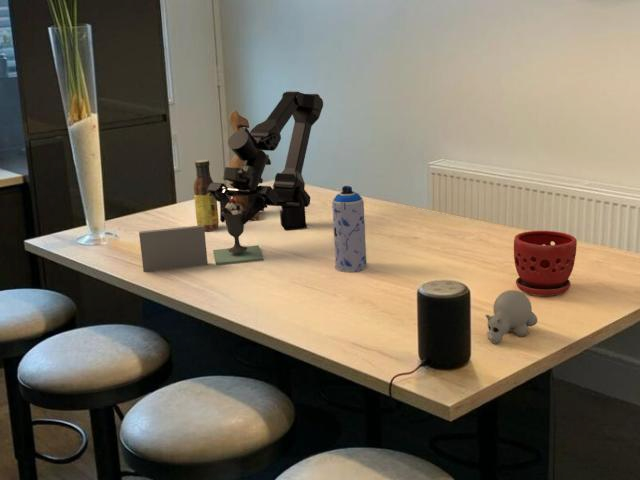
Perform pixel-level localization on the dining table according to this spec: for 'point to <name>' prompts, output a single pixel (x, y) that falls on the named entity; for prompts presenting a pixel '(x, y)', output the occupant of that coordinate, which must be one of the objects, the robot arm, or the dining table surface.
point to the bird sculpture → (236, 124)
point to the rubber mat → (237, 255)
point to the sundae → (234, 222)
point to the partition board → (173, 248)
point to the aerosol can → (349, 231)
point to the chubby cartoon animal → (510, 316)
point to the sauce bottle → (205, 197)
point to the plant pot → (544, 261)
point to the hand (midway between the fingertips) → (232, 222)
